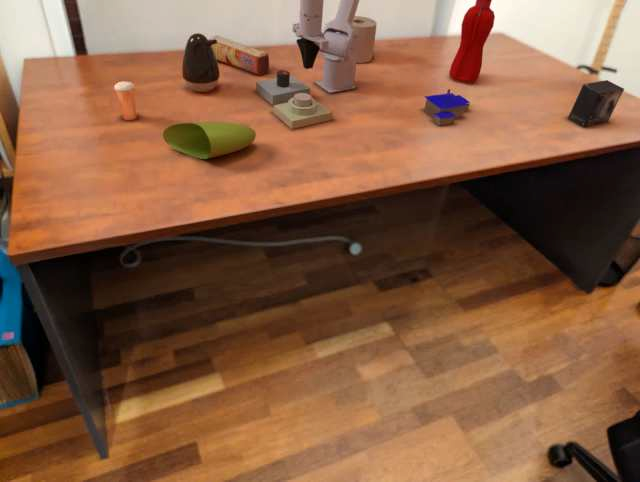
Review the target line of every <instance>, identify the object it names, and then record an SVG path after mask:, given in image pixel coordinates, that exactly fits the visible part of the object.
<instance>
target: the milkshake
mask: <svg viewBox="0 0 640 482" xmlns="http://www.w3.org/2000/svg"><path fill="white" fill-rule="evenodd" d="M113 87H114V88H113V89H114V91H115V94H116V97H117V100H118V104H119V108H120V111H121V114H122V115H121V116H122V118H123V120H126V121H134V120H136V119H137V118H138V116H137V106H136V93H135V92H136V91H135V84H134V83H132V74H129V78H128V81H124V80H123V81H119V82H117V83H115V84H114V86H113Z"/></svg>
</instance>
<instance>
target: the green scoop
mask: <svg viewBox="0 0 640 482" xmlns="http://www.w3.org/2000/svg"><path fill="white" fill-rule="evenodd" d="M162 137H163V140H164V142H165V143H166V144H167V145H168V146H169V147H171V148H173V149H174V150H176V151H178V152H181V153H183V154H185V155H188V156H190V157H193V158H197V159H200V160H207V159H211V158H216V157H220V156H225V155H228V154H232V153H235V152H238V151H241V150H243V149H245V148H247V147H248V146H250V145H252V143H254V141H255V140H256V137H257V134H256V131H255V130H254V129H253V128H252V127H251V126H248V125H246V124H240V123H235V122H224V121H223V122H219V121H217V122H213V121H212V122H210V121H209V122H208V121H207V122H182V123H181V122H180V123H176V124H172V125H170V126H168V127H166V128H165V129H164V130H163V133H162Z"/></svg>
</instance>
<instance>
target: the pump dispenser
mask: <svg viewBox="0 0 640 482" xmlns="http://www.w3.org/2000/svg"><path fill="white" fill-rule="evenodd" d="M216 43H217V40H216V39H214V40H209V39H208V38H207V36H206V35H204V34H202V33H197V32H196V33H193V34H191V35H190V36H189V38H187V41H186V44H185V46H184V51H183V56H182V63H181V64H182V66H181V67H182V68H181V71H182V72H181V73H182V78H183V80H184V82H185V84H186V85H187V87H188V88H189V89H191V90H192V91H195V92H198V93H206V92H210V91H212V90H214V89H215V88H216V87H217V85H218V84H219V83H218V82H219V79H220V74H221V73H220V67H219V62H218V60H217V59H216V56H215V53H214V50H213V48H212V46H211V45H213V44H216Z"/></svg>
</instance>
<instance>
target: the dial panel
mask: <svg viewBox="0 0 640 482" xmlns="http://www.w3.org/2000/svg"><path fill="white" fill-rule="evenodd" d="M255 90H256V91H255V92H256V93H257V94H259V96H260V97H262V98H263V99H264V100H266V102H268V103H269V104H270V105H272V106H273V105H278V104H283V103H288V100H290V99H291V98H293V97H294V95H295V94H297V93H306V94H309V95H311V94H310V93H311V87H310V86H308V85H306V84H305V83H304V82H303V81H301V80H299V79H298V78H297V77H296V76H294V75H290V81H289V86H288V87H279V86H277V77H275V78H270V79H263V80H258V81H256V82H255Z"/></svg>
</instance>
